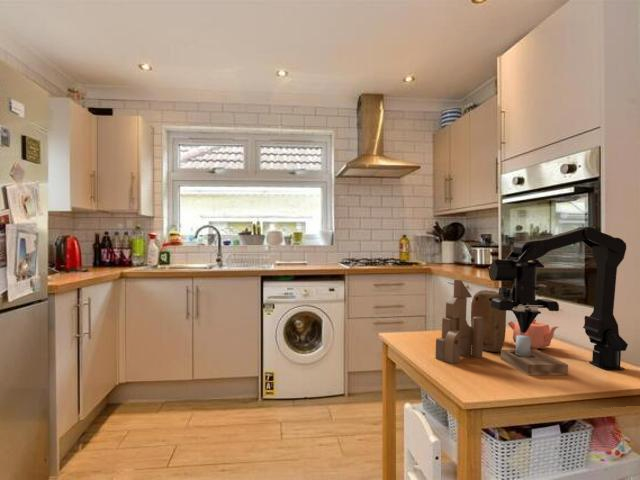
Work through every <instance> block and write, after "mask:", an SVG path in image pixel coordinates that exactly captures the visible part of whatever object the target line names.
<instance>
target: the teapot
mask: <svg viewBox="0 0 640 480" xmlns="http://www.w3.org/2000/svg"><path fill="white" fill-rule="evenodd" d="M507 325H508V326H509V328H511V329H512V330H513V331H512V340H513V342H514V343H516V335H524V336H529V337H531V347H530V350H538V349H541V350H545V349H546V347H549V346H550V345H551V342H552V340H553V338H554V334H555V331H556V330H557V329H558V328H559V326H552V327H551V328H550V325H549V324H547V323H544V322H539V321H537V319H536V318H535V319H534V320H533V322H532V323H531V325H530V327H529V328H528V330H527V332H526V333H522V332H521V330H520V327H519V324H518V321H516V322H515V323H514V321H512V320H511V321H509V322H507ZM538 351H539V350H538Z"/></svg>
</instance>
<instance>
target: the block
mask: <svg viewBox="0 0 640 480" xmlns="http://www.w3.org/2000/svg"><path fill="white" fill-rule="evenodd" d="M493 298H500V297H499V291H498V292H497V291H496V290H483V289H482V290H480V291H477V292H475V293H474V295H473V297H472V299H471V300H472V303H471V302H470V311H471V327H472V331H473V317H476V316H477V317H482V318H483V319H484V325H483V351H485V352H486V351H487V352H491V353H498V352H501V350H503V348H504V347H503V346H504V344H505V340H506V332H507V331H506V330H507V329H506V327H507V325H506V323H507V311H503V310H498V309H495V308H493V307H491V301H492V300H493Z"/></svg>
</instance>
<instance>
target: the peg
mask: <svg viewBox="0 0 640 480" xmlns="http://www.w3.org/2000/svg"><path fill="white" fill-rule="evenodd" d="M515 350H516V352H515V355H516V356H518V357H530V350H531V337H529V336H524V335H516V342H515Z"/></svg>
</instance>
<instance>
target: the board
mask: <svg viewBox="0 0 640 480" xmlns="http://www.w3.org/2000/svg"><path fill="white" fill-rule="evenodd" d="M515 352H516V349H501V351H500V359H501V361H503V362H505V363H507V364H508V365H510V366H512V367H514V368H515V369H517V370H519V371H520V372H522V373H524V374H525V375H527V376H568V375H569V364H567V363H565V362H563V361H561V360H560V359H557V358H555V357H553V356H551V355H549V354H547V353H544V352H542V351H540V350H531V349H530V357H518V356H516V355H515Z"/></svg>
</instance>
